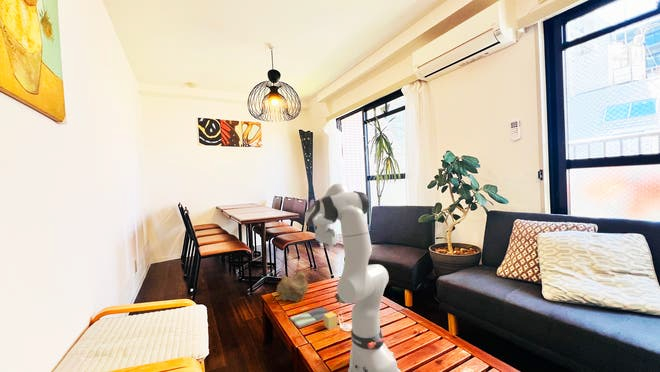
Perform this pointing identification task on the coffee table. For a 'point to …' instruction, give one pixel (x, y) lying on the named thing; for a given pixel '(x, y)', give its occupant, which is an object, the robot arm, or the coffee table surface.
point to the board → (309, 317)
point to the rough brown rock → (293, 287)
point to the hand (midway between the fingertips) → (326, 249)
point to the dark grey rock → (339, 298)
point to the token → (330, 320)
